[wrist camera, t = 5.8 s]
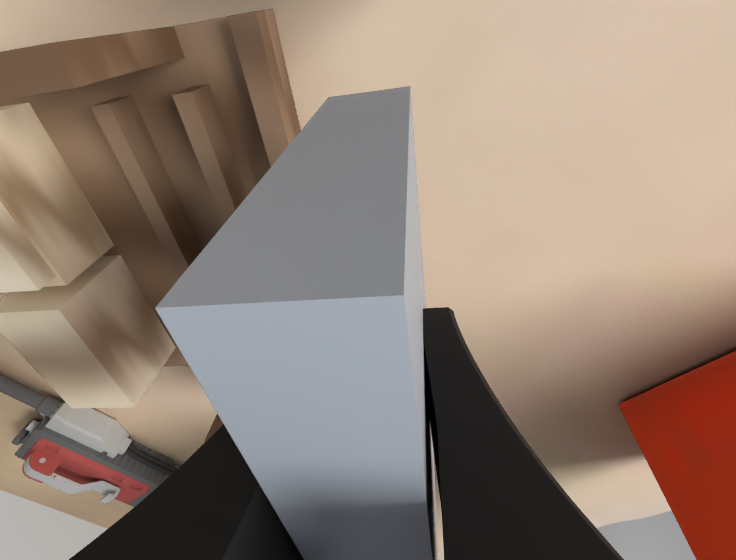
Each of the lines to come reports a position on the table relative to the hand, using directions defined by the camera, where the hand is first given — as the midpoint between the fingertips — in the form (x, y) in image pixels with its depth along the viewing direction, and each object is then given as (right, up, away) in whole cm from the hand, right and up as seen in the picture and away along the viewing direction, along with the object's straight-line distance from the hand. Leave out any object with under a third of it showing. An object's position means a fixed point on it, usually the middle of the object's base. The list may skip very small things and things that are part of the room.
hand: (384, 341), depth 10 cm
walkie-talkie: (-26, -11, +25) cm, 37 cm away
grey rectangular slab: (0, +2, +3) cm, 3 cm away
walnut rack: (-11, +4, +11) cm, 16 cm away
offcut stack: (-16, +3, +11) cm, 20 cm away
